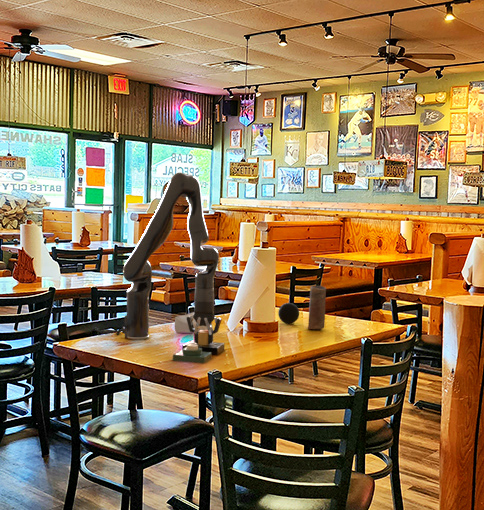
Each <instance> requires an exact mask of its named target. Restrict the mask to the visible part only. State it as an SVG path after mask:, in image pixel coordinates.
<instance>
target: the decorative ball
mask: <svg viewBox="0 0 484 510" xmlns="http://www.w3.org/2000/svg"><path fill="white" fill-rule="evenodd" d="M277 313H278V318H279V320H280V321H281V322H282V323H284V324H286V325H291V324H294V323H295V322H296V321H298V319H299V317H300V310H299V308H298V306H297V305H296V304H294V303H292V302H285V303H282V305H280V307H279V309H278V312H277Z"/></svg>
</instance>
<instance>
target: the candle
mask: <svg viewBox="0 0 484 510" xmlns="http://www.w3.org/2000/svg"><path fill="white" fill-rule="evenodd" d="M326 295H327V288H326V287H325V286H323V285H311V286H310V289H309V306H308V307H309V309H308V322H307V323H308V325H307V329H310V330H314V331H321V330H323V329H325V324H326V323H325V321H326V301H327V300H326V299H327V298H326V297H327V296H326Z"/></svg>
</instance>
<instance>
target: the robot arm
mask: <svg viewBox="0 0 484 510" xmlns="http://www.w3.org/2000/svg"><path fill="white" fill-rule="evenodd" d="M180 198H186V200H187V202H188V205H189V213H188V216H187V223H186V224H187V231H188V234H189V238H190V260H191V262H192V264H193V265H194V266H195V267H205V268H204V270H202V271H200V272H198V273H196V275H195V286H194V287H195V289H194V297H193V298H194V305H193V307H194V311H193V312H194V315H193V316H188V317H187V322H188V326H189V330H190V332H193V334H194V335H193V336H194V340H193V341H195V342H196V343H197V344H198V331H199V329H200V327H201V326H206V327H207V329H208V332H209V335H208V344H211V343H212V342H214V335H216V334H218V333H219V330H220V327H221V323H222V318H221V317H216V315H215V287H214V286H215V284H214V283H215V275H216V271H217V268H218V264H219V260H220V256H219V252H218V250H217V249H216V248H215V247H202V245H205V244H207V243H208V242H209V240H210V236H209V233H208V229H207V225H206V222H205V221H206V220H205V217H204V210H203V200H202V192H201V185H200V181H199V179H198V177H196V176H194V175H192V174H188V173H185V172H176V173H174V174H173V175H172V177H171V178H170V180H169V182H168V184H167V187H166V189H165V191H164V194H163V196H162V198H161V200H160V202H159V204H158V206H157V209H156V210H155V213H154V215H153V216H152V218H151V219H150V221H149V223H148V225H147V226H146V229H145V230H144V233H143V234H142V236H141V238H140V240H139V241H138V243H137V245H136V247H135V248H134V250H133V251H132V253H131V255H130V256H129V258H128V259H126V262H125V263H124V266H123V269H122V275H123V277H124V280H126V281H127V282H130V283H132V284H131V287H130V288H128V289H127V291H126V315H124V326H123V327H121V328H119V329H112V330H106V331H101V330H99V328H97V330H95V329H94V328H93V329H92V330H91V331H92V332H97V333H98V334H103V335H105V334H106V335H107V334H112V333H116V335H118V336H119V335H120V334H121V333H122V334H124V339H128V340H133V341H143V340H147V339H149V338H150V335H149V334H150V333H149V331H150V330H149V329H150V324H149V323H150V321H149V319H150V292H151V290H152V277H153V276H152V275H153V271H152V270H153V269H152V266H151V263H150V262H149V259H150V258H151V256H152V255H153V254H154V253H156V251H157V250H158V249H160V248H161V246H163V245H164V243H165V242H166V241H167V239H168V237H169V235H170V234H171V232H172V230H173V228H174V210H175V206H176V204H177V202H178V200H179V199H180ZM193 318H194V319H195V321H196V322H197V323H196V326H195V329H194V326H193V322H192V321H193ZM213 322H214V323H215V326H214V328H213V324H212V323H213Z"/></svg>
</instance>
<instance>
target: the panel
mask: <svg viewBox="0 0 484 510" xmlns="http://www.w3.org/2000/svg"><path fill="white" fill-rule="evenodd" d="M188 344H197V343H196V342H195V341H194V340H189V341H187V342H185V343H184V344H182V346H181V350H183V348H186V347H187V345H188ZM197 345H198V347H199V348H202V352H212V355H211V356H216V357H218V356H219V355H221V354H222V353H223V352H224V351H225V345H226V344H225V342H215V341H213V342H212V343H211V344H209V345H199V344H197Z"/></svg>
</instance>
